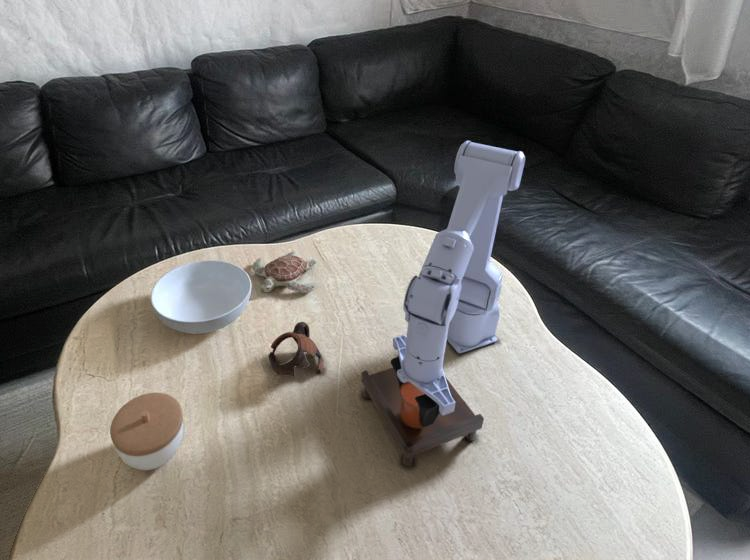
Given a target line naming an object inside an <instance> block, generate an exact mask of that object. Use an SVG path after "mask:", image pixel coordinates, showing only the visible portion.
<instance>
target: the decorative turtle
mask: <svg viewBox="0 0 750 560" xmlns="http://www.w3.org/2000/svg"><path fill="white" fill-rule="evenodd" d="M263 260H264V259H263V257H259V258H257V259H256V260H255V261H254V262H253V264H252V267H251V270H252V271H253V272H254V273H255V274H256V275H258V276H260V277H265V278H266V279H264V280H263V281H262V282H261V283H260V289H261V290H260V291H261V293H269V292H271V291H273V290H274V289H275V287H281V286H285V287H286V288H287V289H288V290H290V291H292V292H297V293H303V294H304V293H305V294H307V293H310V292H312V291H314V290H315V289H317V287H318V286H319V285H320V284H319V282H318V281H311V282H305V283H303V282H299V281H298V280H299V279H300V277H301V276H302V275H303V273H304V271H306V270H312V269H314V268H315V267H316V266H317V263H318V262H317V260H316V259H309V260H307V261H305V260H304V259H303V258H301V257H299V256H298V252H297V251H292V252H289V253H287V254H285V255H282V256H278V257H277V258H275V259H274V260H272V261H269V262H268V263H267V264H265V266H263Z"/></svg>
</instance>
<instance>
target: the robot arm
mask: <svg viewBox="0 0 750 560" xmlns="http://www.w3.org/2000/svg"><path fill="white" fill-rule="evenodd" d="M525 163H526V156H525V154H524V151H521V150H518V151H516V150H511V149H507V148H502V147H496V146H492V145H488V144H487V145H486V144H482V143H479V142H478V143H477V142H472V141H471V140H466V141H464V142H463V143H462V144H461V145H460V146H459V148H458V150H457V153H456V157H455V161H454V167H453V168H454V169H453V170H454V174H455V183H456V184H457V186H458V187H459V189H458V192H457V196H456V198H455V202H454V205H453V208H452V212H451V215H450V218H449V220H448V225H447V227H446V228H445V229H443V230H441V231H438V232H437V233H436V234H435V236H434V238H433V241H432V243H431V246H430V248H429V251H428V252H427V255H426V258H425V260H424V262H423V264H422V266H421V269H420V271H419V274H418V275H414V276H412V278H411V279H410V281H409V283H408V285H407V288H406V290H405V294H404V299H403V304H402V308H403V312H404V315H405V317H404V320H405V321H406V322H407V328H406V335H405V334H402V335H398V336H395V337H393V338H392V347H393V349H394V350H395V351H397V354H398V355H397V356H396V357H393V358H391V360H390V365H391V366H392V367H393V368H394V370H395V373H396V375H397V378H398V383H399V387H400V390H401V386H402V384H403V383H405V382H410V383H412V384H413V385H414V386H415V387H417V388H418V389H419V390H421V391H422V392H423V393H425V394H423V395H420V396H418V397H415V400H416V401H417V403H418V406H419V411H420V424H421V425H422V427H426V426H428V425H431V424H433V423H434V421H435V420H436V418H437V416H438V415H439V413H441V415H442V416H443V415H446V414H449V413H451V412H454V408H455V403H456V402H455V401H454V396H453V394H452V393H451V392H450V390H449V388H448V384H447V381H446V378H447V377H446V375H445V372H444V370H443V364H444V358H445V353H446V346H447V342H448V343H449V345H451V347H452V348H453V349H454V350H455V351H456V352H457V354H463V353H466V352H469V351H472V350H475V349H477V348H481V347H484V346H487V345H490V344H493V343H497V342H498V337H497V336H496V333H497V329H498V325H499V320H500V312H501V311H500V307H499V304H498V301H499V298H500V295H501V291H502V287H503V286H502V285H503V284H502V281H503V271H501V269H499V268H498V267H497V266H496V265H495V264H494V263H493V262H492V261H491V257H492V252H493V247H494V242H495V239H496V238H495V237H496V233H497V228H498V222H499V217H500V213H501V208H502V203H503V199H504V196H506V195H508V191H509V192H513V191H516V190H518V189H519V187H520V186H521V182H522V181H521V180H522V176H523V172H524V167H525ZM445 377H446V378H445Z"/></svg>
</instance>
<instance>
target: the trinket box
mask: <svg viewBox="0 0 750 560" xmlns="http://www.w3.org/2000/svg"><path fill="white" fill-rule="evenodd" d="M184 427H185V426H184V415H183V409H182V406H181V404H180V402H179V401H178V400H177V399H176V398H175V397H174V396H172V395H171V394H167V393H164V392H147V393H144V394H141V395H138V396H136V397H134V398H132V399H130V400H129V401H127V402H126V403H125V404H123V405H122V406H121V407H120V408H119V409H118V410H117V412H116V414H115V415H114V416H113V418H112V421H111V424H110V428H109V435H110V439H111V441H112V444H113V446H114V448H115V450H116V453H117V455H118V456H119V458H120V459H121V460H122V461H123V462H124V463H125V464H126V465H127V466H129V467H131V468H132V469H135V470H138V471H153V470H156V469H158V468H160V467H162V466H164V465H166V464H168V463H169V462H170V461H171V460H172V459H173V458H174V457H175V455H176V454H177V452H178V451H179V449H180V447H181V445H182V442H183V437H184V430H185V429H184Z"/></svg>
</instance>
